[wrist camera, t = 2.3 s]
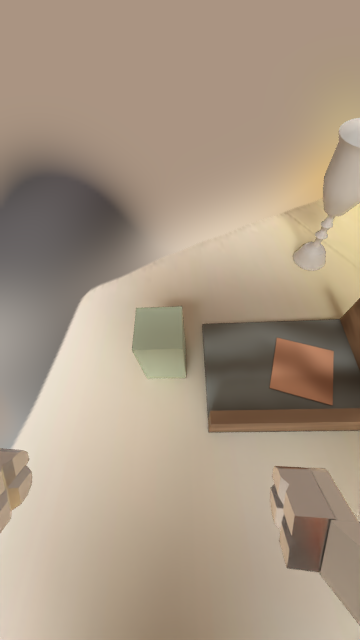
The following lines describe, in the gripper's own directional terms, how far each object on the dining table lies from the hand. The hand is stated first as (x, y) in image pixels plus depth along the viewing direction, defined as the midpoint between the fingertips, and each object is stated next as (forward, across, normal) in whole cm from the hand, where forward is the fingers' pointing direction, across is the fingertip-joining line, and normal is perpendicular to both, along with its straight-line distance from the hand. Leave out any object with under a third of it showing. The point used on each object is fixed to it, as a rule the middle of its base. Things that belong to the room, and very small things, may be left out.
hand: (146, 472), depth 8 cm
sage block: (+25, +2, +7) cm, 26 cm away
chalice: (+38, -19, -6) cm, 43 cm away
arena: (+24, -12, +8) cm, 28 cm away
